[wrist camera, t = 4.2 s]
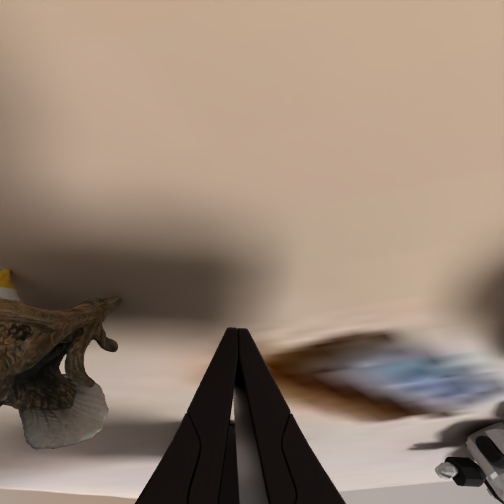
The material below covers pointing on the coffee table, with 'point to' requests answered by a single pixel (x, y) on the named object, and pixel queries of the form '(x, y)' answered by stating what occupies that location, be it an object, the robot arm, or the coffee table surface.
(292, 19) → the coffee table surface
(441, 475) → the robot toy
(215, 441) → the robot arm
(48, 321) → the eagle figurine
